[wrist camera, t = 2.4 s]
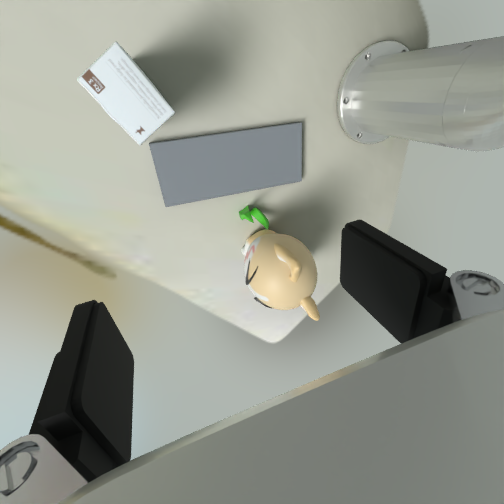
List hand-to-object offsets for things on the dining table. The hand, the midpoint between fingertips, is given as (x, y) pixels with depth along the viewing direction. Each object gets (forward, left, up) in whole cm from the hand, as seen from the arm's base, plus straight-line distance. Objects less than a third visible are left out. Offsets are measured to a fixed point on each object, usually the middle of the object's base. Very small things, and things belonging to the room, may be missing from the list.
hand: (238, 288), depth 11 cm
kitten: (-10, +16, -30) cm, 35 cm away
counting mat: (-7, +2, -30) cm, 31 cm away
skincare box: (+3, -7, -30) cm, 31 cm away
